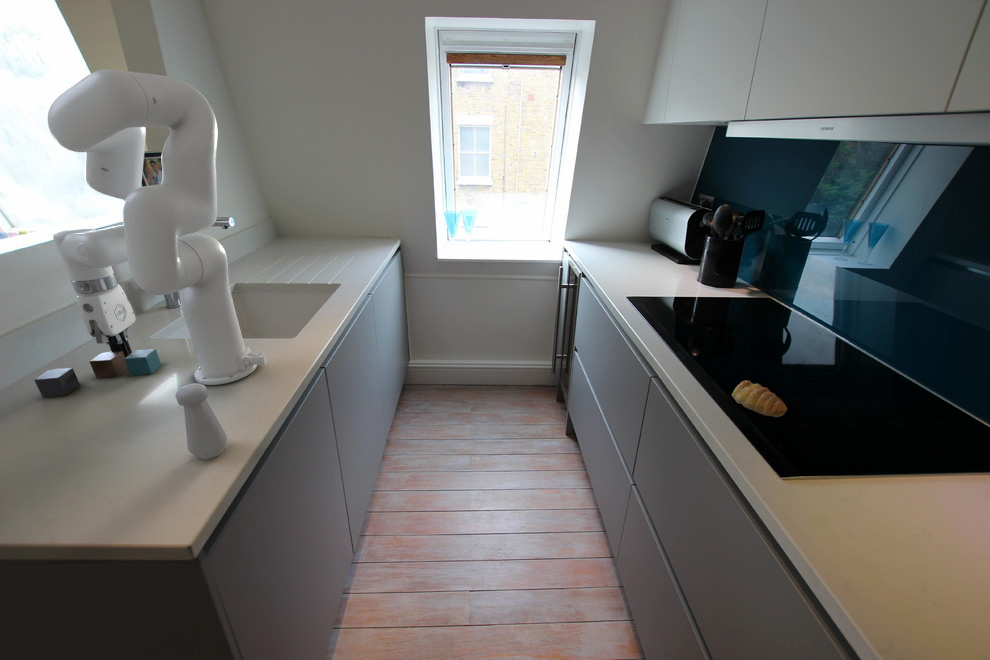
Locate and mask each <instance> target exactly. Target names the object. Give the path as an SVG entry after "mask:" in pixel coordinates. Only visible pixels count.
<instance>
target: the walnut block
mask: <svg viewBox="0 0 990 660" xmlns="http://www.w3.org/2000/svg"><path fill="white" fill-rule="evenodd" d="M124 359H125V356H124V354H123V351H118V352H112V351H106V352H104V351H103V352H101V353H99V354H98V355H96V356H94V357H93V358H91V360H89V361H88V362H89V364H90V367H91V369H92V372H93V373H94V376H95V379H107V378H118V377H119V376H121V375H122V374H123V373H125V372H126V371H128V367H127V365H126V362H125V360H124Z"/></svg>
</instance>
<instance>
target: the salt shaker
mask: <svg viewBox="0 0 990 660" xmlns="http://www.w3.org/2000/svg"><path fill="white" fill-rule="evenodd" d="M208 397H209V392H208V389H207V386H206V385H205V384H201V383H198V382H197V383H190V384H186V385H184V386H182V387H180V388H179V389H178V390H177V391H176V393H175V399H176V402H177V404H178V405H179V406H181V407H183V412H184V422H185V432H186V434H185V435H186V447H187V450H188V452H189V453H191V454H192V455H193V456H194V457H196V458H197V459H198V460H205V461H209V460H211V459H214V458H216V457H219V456H220V455H221V454H222V453H223V452H224V451H225V449H226V447H227V446H226V445H227V441H228V435H227V433H226V431H225V429H224V428H223V426H222V425H221V423H220V421H219V420H218V418H217V416H216V415H215V413H214V410H213V409H212V407H211V406H210V404H209V403H208V400H207V398H208Z"/></svg>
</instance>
